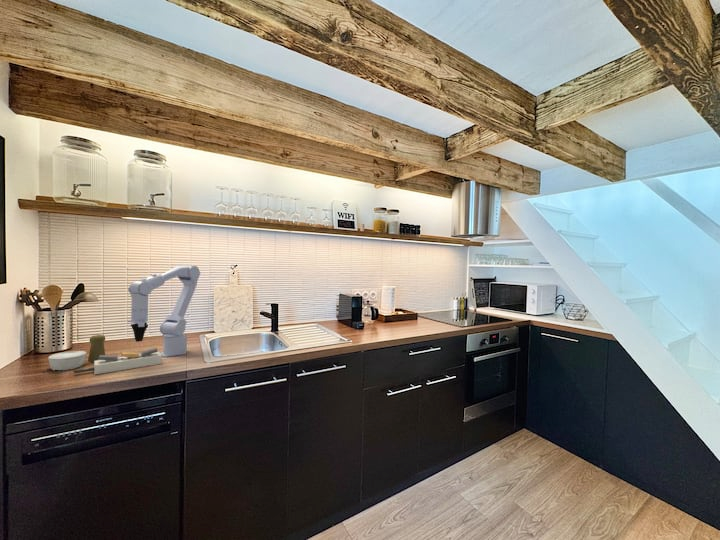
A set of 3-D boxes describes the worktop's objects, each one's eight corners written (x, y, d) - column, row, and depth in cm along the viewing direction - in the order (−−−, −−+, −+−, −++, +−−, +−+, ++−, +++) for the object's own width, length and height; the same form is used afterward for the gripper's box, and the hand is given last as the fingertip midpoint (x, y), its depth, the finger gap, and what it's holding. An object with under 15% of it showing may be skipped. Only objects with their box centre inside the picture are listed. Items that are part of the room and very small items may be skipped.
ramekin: (83, 360, 129) (84, 348, 128) (88, 367, 121) (88, 354, 121) (46, 367, 120) (46, 354, 120) (49, 374, 113) (49, 360, 113)
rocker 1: (116, 358, 122) (117, 355, 122) (116, 360, 120) (117, 357, 120) (98, 358, 118) (99, 355, 119) (99, 360, 116) (100, 356, 116)
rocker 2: (156, 350, 132) (156, 347, 131) (157, 351, 129) (157, 349, 129) (141, 354, 128) (140, 352, 128) (142, 356, 126) (141, 354, 125)
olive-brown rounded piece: (104, 357, 134) (105, 333, 134) (107, 360, 130) (108, 335, 130) (86, 360, 129) (87, 335, 129) (88, 363, 125) (89, 337, 125)
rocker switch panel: (159, 359, 134) (159, 350, 134) (161, 363, 129) (162, 353, 129) (74, 372, 115) (74, 361, 115) (73, 377, 110) (73, 366, 110)
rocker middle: (137, 355, 127) (138, 352, 127) (138, 357, 125) (139, 354, 125) (121, 355, 123) (122, 352, 123) (121, 356, 121) (122, 353, 121)
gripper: (126, 307, 128) (125, 338, 128) (129, 312, 118) (128, 346, 118) (146, 306, 133) (145, 336, 133) (151, 311, 122) (150, 343, 123)
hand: (138, 340), depth 126 cm, fingers closed
